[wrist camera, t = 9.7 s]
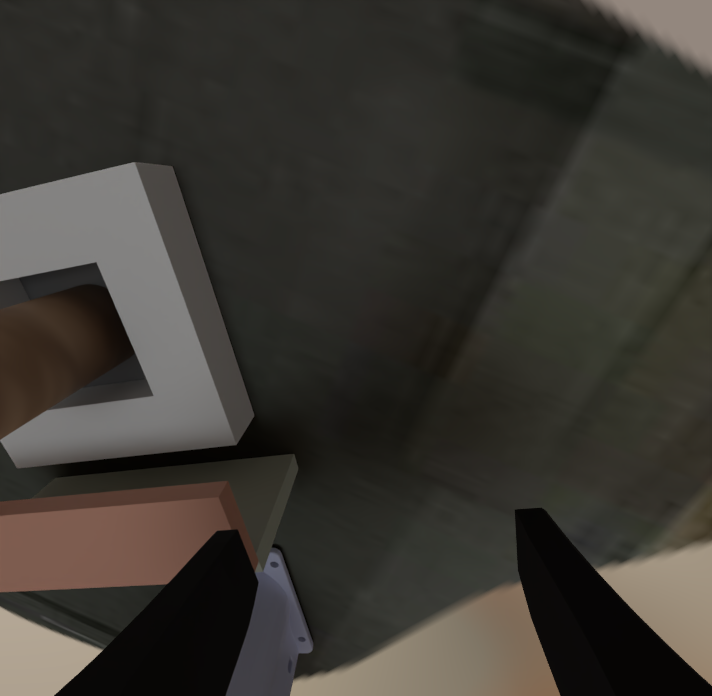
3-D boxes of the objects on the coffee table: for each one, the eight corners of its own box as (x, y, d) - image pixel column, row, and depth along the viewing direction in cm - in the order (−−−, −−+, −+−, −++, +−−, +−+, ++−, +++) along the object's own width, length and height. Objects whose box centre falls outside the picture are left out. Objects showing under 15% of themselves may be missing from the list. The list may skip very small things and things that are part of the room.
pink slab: (298, 468, 21) (256, 591, 15) (63, 490, 23) (-63, 604, 17) (276, 395, 19) (218, 497, 13) (26, 427, 22) (-129, 527, 15)
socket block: (254, 415, 20) (236, 445, 18) (57, 439, 22) (17, 468, 20) (172, 166, 16) (134, 162, 13) (-65, 221, 18) (-134, 226, 15)
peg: (153, 357, 19) (-1, 463, 12) (82, 367, 20) (-107, 474, 12) (120, 277, 18) (-79, 341, 10) (45, 291, 18) (-194, 360, 11)
